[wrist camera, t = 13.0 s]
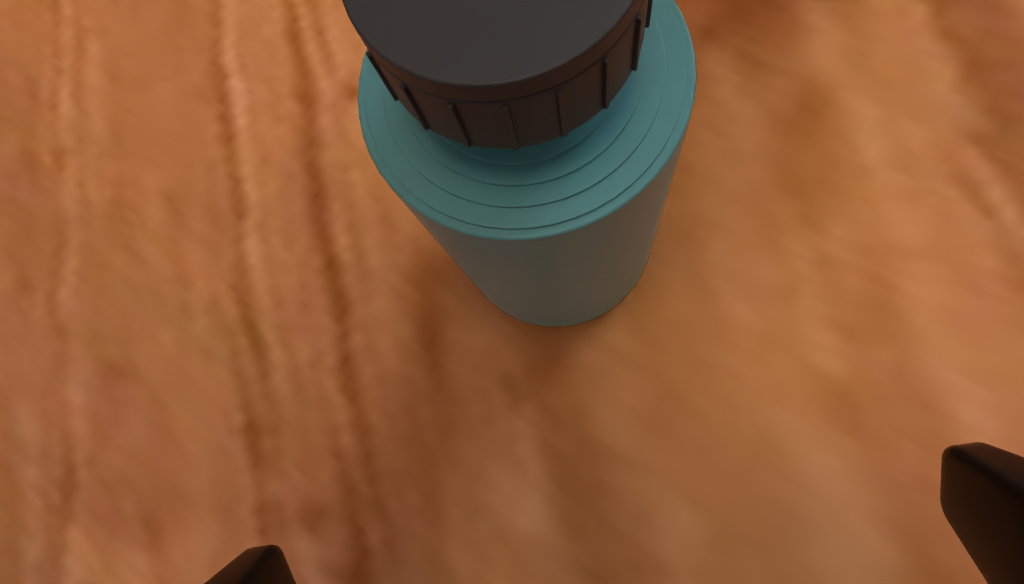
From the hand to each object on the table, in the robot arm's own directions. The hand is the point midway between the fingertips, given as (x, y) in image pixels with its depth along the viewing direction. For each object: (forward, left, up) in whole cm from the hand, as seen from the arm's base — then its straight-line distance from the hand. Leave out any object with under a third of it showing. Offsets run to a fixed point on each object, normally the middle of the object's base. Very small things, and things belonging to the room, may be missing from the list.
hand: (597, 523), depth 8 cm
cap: (+7, +2, +2) cm, 8 cm away
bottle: (+7, +2, -10) cm, 13 cm away
